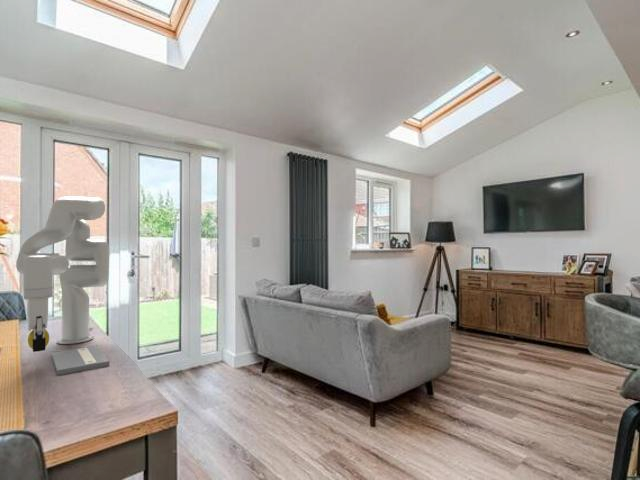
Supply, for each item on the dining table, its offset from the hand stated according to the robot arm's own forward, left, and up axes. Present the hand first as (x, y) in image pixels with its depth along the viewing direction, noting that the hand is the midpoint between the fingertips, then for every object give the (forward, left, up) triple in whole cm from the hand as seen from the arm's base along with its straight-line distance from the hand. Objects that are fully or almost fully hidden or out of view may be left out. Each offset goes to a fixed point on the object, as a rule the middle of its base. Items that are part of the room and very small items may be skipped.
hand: (38, 347), depth 119 cm
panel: (-6, +9, -6) cm, 13 cm away
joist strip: (-7, +11, -5) cm, 14 cm away
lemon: (0, 0, -1) cm, 1 cm away
